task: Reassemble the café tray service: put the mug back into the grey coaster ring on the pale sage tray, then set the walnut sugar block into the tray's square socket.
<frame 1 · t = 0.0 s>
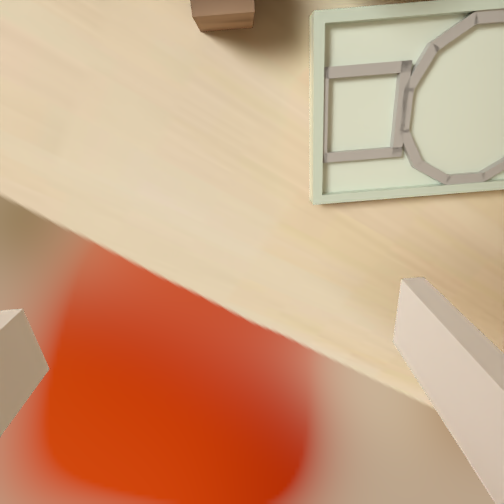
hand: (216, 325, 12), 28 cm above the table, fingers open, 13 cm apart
tray: (430, 107, 35), on the table
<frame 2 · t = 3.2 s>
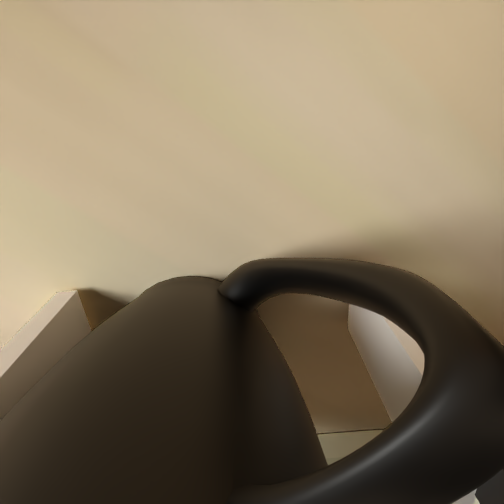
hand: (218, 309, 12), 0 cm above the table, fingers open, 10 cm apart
mug: (223, 301, 13), on the table, touching gripper
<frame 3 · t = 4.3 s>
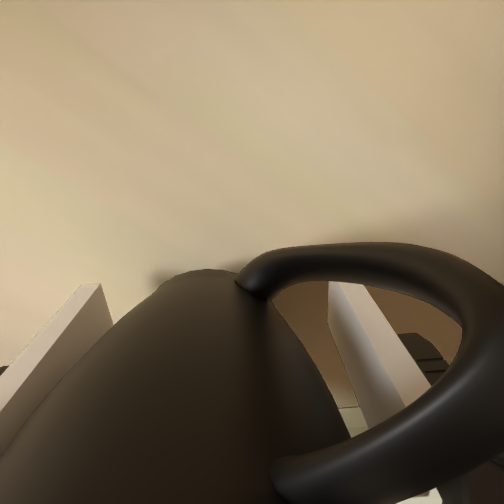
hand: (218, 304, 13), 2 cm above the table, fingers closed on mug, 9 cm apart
mug: (239, 293, 13), point 2 cm above the table, touching gripper
tray: (390, 503, 22), on the table
when the fingers open (2 cm above the table, at t = 19.9 s): mug stays where it is, resting on tray.
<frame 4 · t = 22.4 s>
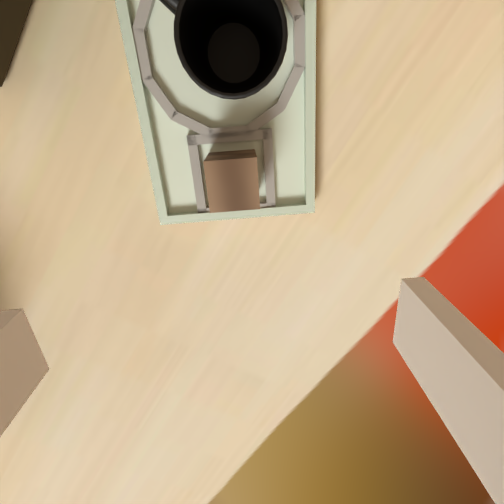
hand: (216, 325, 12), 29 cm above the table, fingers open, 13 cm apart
mug: (217, 40, 31), point 1 cm above the table, touching tray
tray: (226, 95, 34), on the table
block: (233, 173, 37), point 1 cm above the table, touching tray
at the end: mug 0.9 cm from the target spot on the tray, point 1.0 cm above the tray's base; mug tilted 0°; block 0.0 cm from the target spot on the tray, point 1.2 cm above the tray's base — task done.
